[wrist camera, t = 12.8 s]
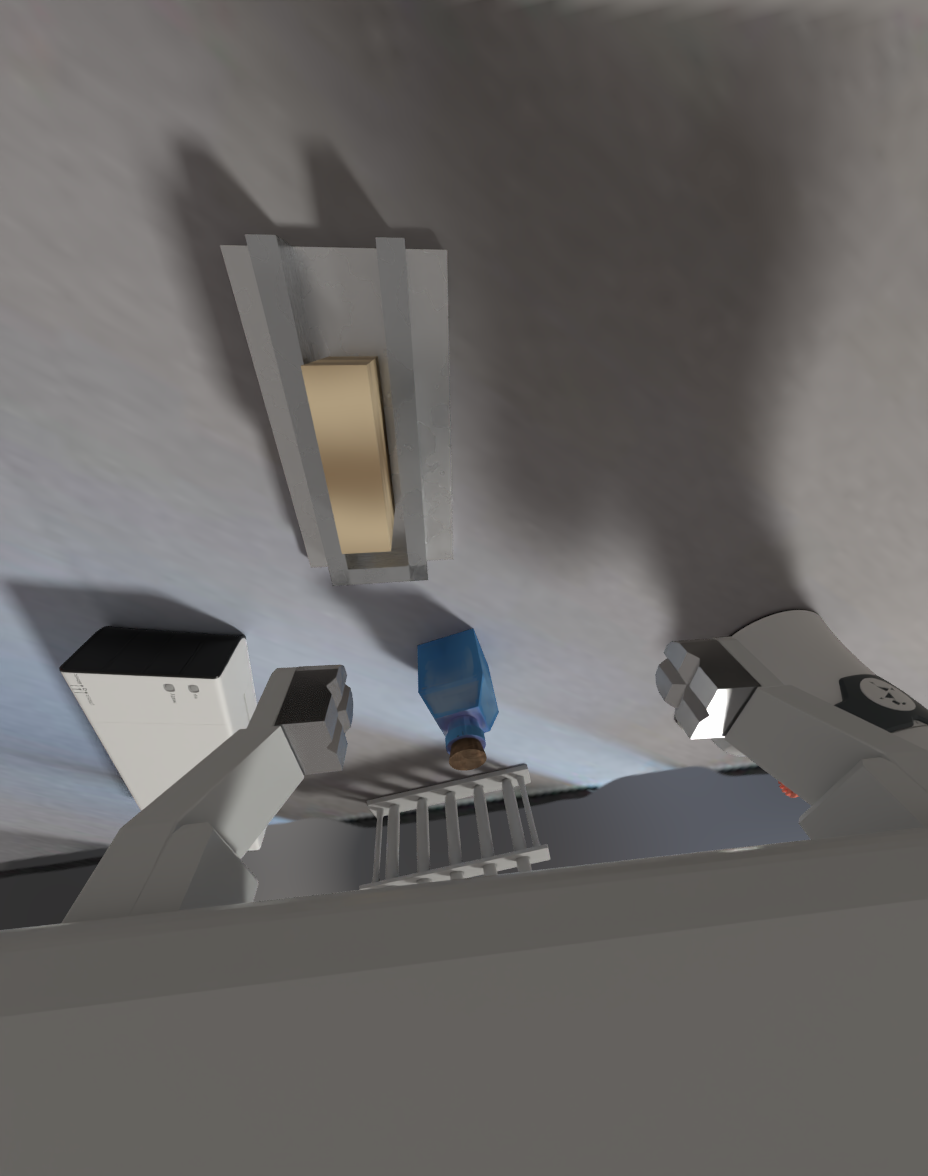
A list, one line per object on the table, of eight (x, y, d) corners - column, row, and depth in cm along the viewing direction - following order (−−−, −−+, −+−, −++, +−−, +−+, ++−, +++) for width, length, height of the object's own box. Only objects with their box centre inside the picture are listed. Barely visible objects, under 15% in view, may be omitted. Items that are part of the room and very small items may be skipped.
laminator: (274, 802, 54) (260, 851, 49) (179, 804, 51) (154, 855, 46) (246, 628, 35) (218, 677, 30) (95, 617, 33) (37, 669, 28)
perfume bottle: (488, 666, 42) (511, 768, 32) (437, 681, 42) (444, 786, 33) (473, 628, 38) (494, 730, 29) (417, 645, 39) (419, 751, 29)
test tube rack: (376, 812, 59) (369, 920, 48) (366, 799, 56) (356, 911, 45) (529, 777, 58) (556, 879, 47) (526, 763, 55) (554, 867, 45)
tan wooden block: (395, 507, 29) (390, 551, 23) (356, 509, 28) (342, 554, 23) (377, 356, 23) (366, 364, 17) (328, 356, 23) (300, 365, 17)
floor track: (452, 553, 33) (456, 578, 30) (313, 561, 32) (302, 588, 28) (445, 252, 21) (451, 239, 18) (227, 248, 20) (191, 232, 17)
